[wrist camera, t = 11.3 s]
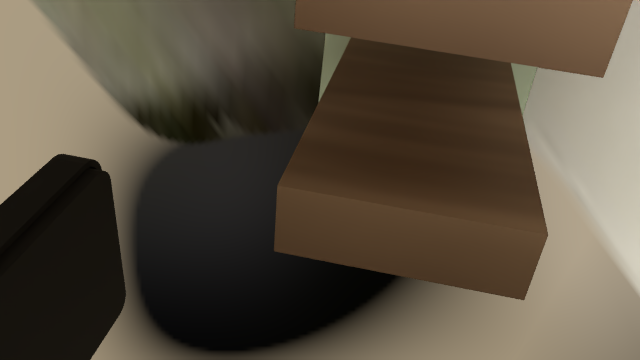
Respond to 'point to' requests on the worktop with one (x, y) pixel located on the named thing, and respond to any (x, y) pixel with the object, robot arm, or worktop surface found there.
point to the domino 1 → (482, 28)
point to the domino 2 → (416, 172)
